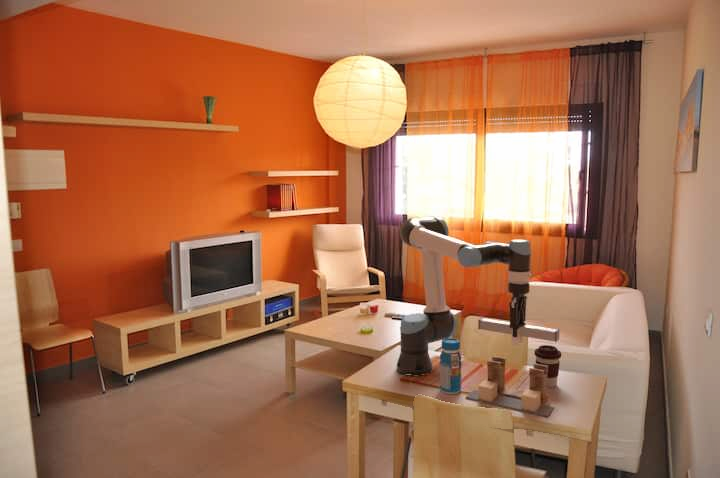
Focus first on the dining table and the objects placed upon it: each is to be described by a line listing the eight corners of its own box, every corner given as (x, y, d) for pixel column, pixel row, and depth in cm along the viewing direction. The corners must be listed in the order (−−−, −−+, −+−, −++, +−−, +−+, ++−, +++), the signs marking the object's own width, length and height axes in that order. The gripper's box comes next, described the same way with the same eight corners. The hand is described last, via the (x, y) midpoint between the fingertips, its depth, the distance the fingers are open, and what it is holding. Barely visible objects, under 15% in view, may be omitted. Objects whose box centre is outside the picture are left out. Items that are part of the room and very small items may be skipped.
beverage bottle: (437, 393, 211) (437, 342, 209) (442, 384, 219) (442, 336, 216) (459, 396, 208) (459, 344, 206) (463, 387, 216) (463, 338, 213)
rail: (478, 329, 212) (478, 319, 211) (481, 326, 215) (482, 317, 215) (556, 341, 196) (556, 331, 195) (559, 339, 199) (559, 328, 199)
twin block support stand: (465, 398, 206) (465, 384, 205) (473, 391, 213) (474, 377, 212) (547, 417, 190) (548, 401, 189) (553, 408, 196) (554, 393, 195)
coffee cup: (531, 386, 216) (532, 349, 214) (536, 378, 225) (537, 342, 223) (558, 391, 211) (559, 353, 209) (561, 382, 220) (563, 345, 218)
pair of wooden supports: (485, 391, 212) (486, 360, 210) (491, 386, 217) (491, 355, 215) (543, 404, 200) (544, 371, 198) (548, 398, 205) (549, 366, 203)
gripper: (522, 287, 194) (520, 351, 197) (535, 278, 208) (533, 338, 211) (501, 285, 198) (499, 347, 201) (516, 276, 212) (514, 335, 215)
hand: (517, 343), depth 206 cm, fingers closed on rail, 3 cm apart
